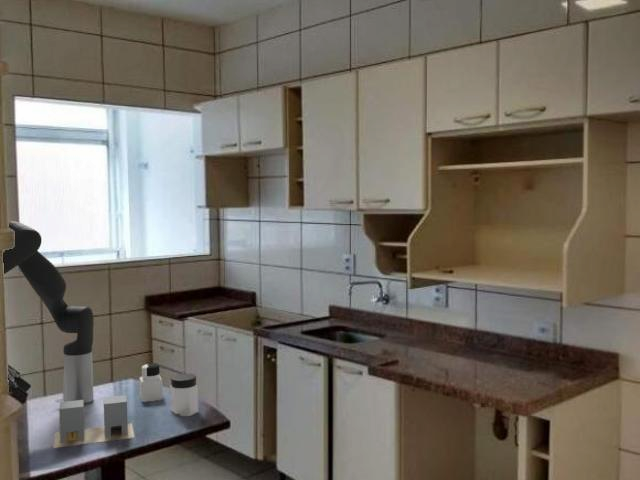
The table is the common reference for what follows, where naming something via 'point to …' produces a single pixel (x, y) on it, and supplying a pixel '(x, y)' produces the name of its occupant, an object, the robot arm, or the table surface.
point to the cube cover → (71, 419)
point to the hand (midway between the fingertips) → (27, 393)
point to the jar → (184, 394)
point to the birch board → (95, 436)
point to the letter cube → (72, 435)
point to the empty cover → (115, 414)
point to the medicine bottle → (151, 383)
